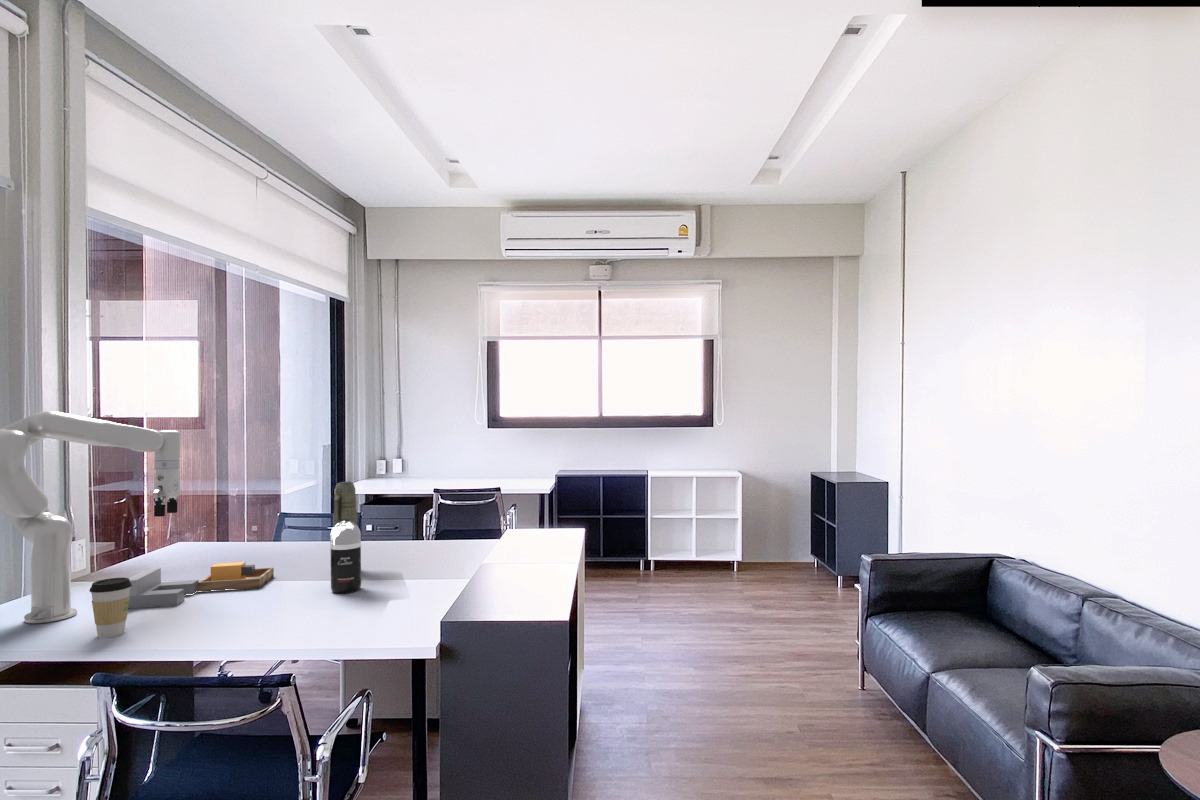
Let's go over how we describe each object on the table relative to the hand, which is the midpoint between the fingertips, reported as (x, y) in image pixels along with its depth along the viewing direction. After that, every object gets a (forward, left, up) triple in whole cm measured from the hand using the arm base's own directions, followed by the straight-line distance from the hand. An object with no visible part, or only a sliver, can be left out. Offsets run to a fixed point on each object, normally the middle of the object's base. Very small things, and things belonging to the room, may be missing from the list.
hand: (165, 514), depth 236 cm
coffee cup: (-45, -4, -28) cm, 53 cm away
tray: (+8, -21, -28) cm, 35 cm away
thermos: (+18, -57, -28) cm, 65 cm away
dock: (-8, -2, -28) cm, 29 cm away
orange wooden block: (+8, -19, -26) cm, 34 cm away
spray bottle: (-12, -62, -28) cm, 69 cm away
